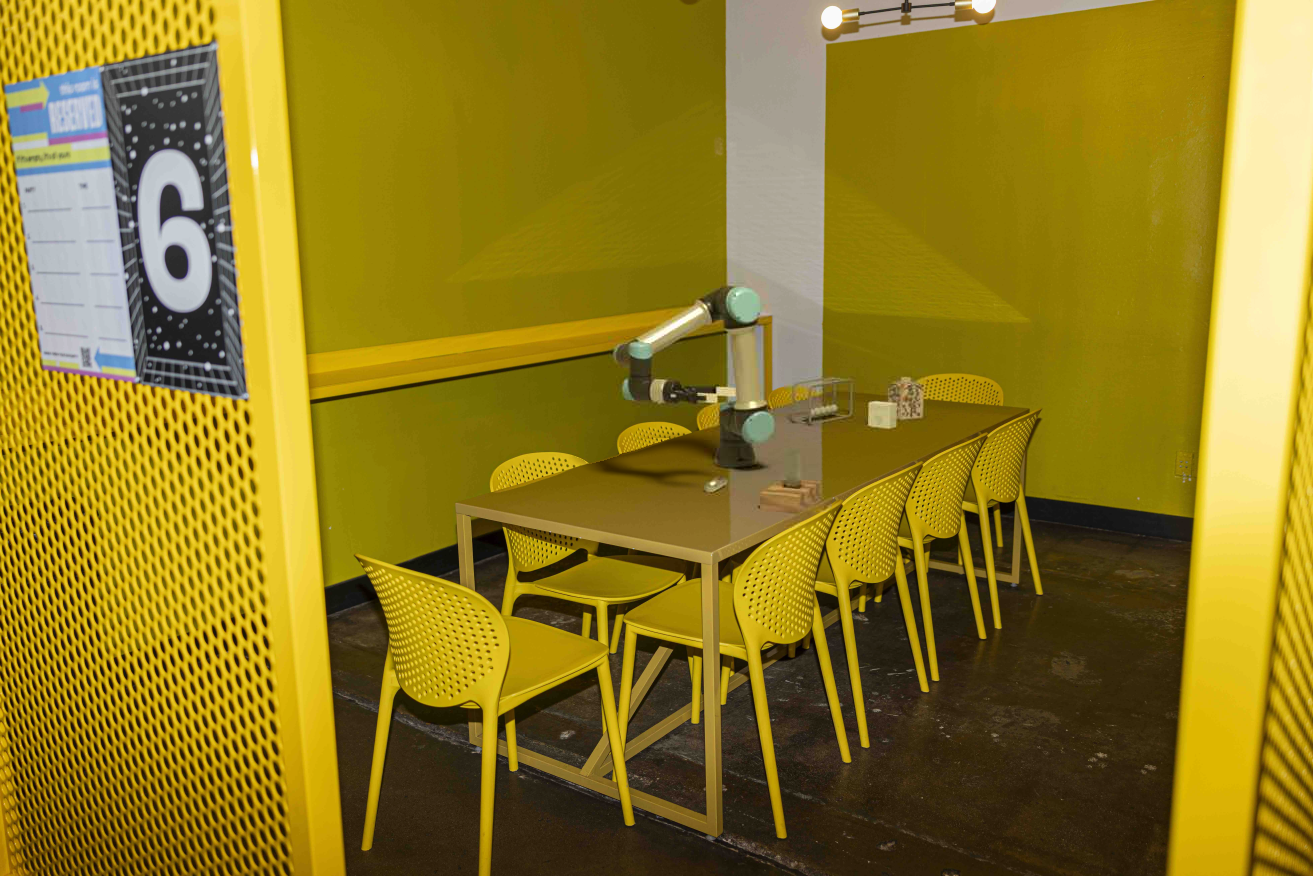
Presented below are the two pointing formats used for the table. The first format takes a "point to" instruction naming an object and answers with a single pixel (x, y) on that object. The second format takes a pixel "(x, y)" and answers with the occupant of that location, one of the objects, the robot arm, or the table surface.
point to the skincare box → (882, 414)
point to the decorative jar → (907, 398)
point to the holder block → (790, 496)
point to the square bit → (793, 468)
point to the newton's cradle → (822, 410)
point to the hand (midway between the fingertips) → (726, 395)
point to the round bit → (715, 484)
